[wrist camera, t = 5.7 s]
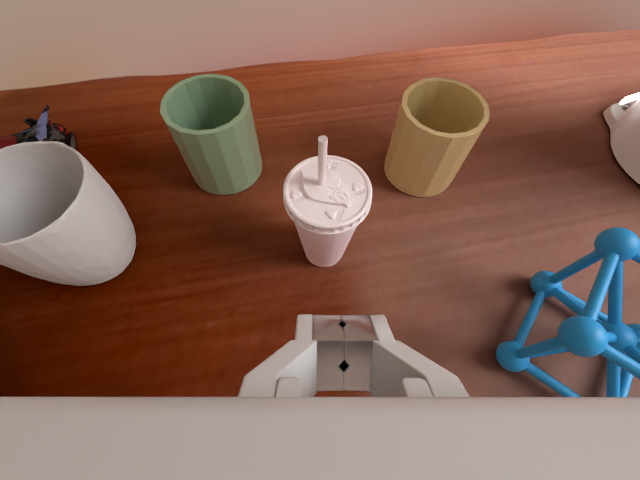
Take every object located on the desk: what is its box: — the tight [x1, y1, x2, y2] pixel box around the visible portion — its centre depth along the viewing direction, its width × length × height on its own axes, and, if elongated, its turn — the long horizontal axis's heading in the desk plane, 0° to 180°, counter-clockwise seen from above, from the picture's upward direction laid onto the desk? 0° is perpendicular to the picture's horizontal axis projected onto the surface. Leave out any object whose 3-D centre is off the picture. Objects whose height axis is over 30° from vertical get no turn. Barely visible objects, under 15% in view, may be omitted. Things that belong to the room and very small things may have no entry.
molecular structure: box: [496, 227, 640, 397], centre depth 23 cm, size 10×10×10 cm
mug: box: [0, 141, 136, 286], centre depth 27 cm, size 13×9×10 cm
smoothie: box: [283, 135, 372, 267], centre depth 25 cm, size 6×6×14 cm
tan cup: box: [384, 77, 489, 197], centre depth 33 cm, size 8×8×8 cm
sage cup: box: [160, 74, 263, 195], centre depth 32 cm, size 8×8×8 cm
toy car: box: [0, 105, 75, 149], centre depth 34 cm, size 6×12×4 cm, turn 109°
